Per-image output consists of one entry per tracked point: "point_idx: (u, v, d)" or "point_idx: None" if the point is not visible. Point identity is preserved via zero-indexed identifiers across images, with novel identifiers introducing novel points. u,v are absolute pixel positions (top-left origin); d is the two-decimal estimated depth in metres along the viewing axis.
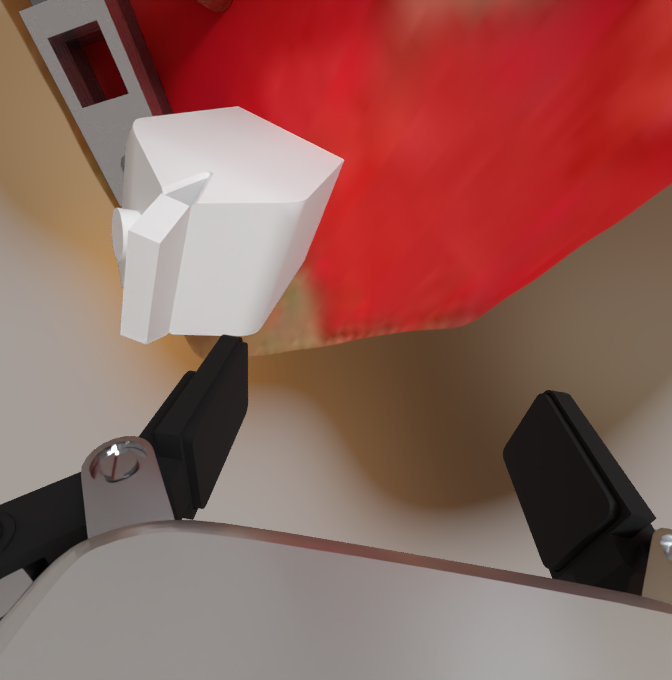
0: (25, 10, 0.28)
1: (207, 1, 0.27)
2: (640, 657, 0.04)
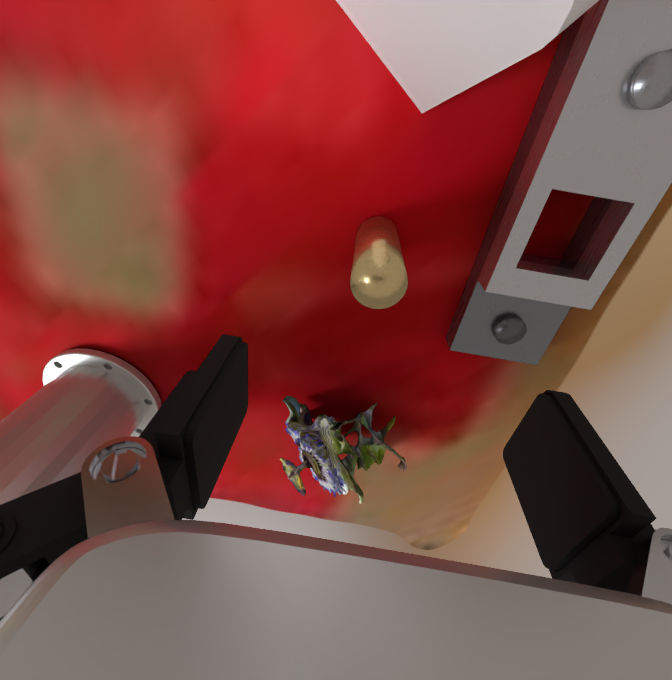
0: (582, 307, 0.24)
1: (382, 227, 0.23)
2: (640, 657, 0.04)
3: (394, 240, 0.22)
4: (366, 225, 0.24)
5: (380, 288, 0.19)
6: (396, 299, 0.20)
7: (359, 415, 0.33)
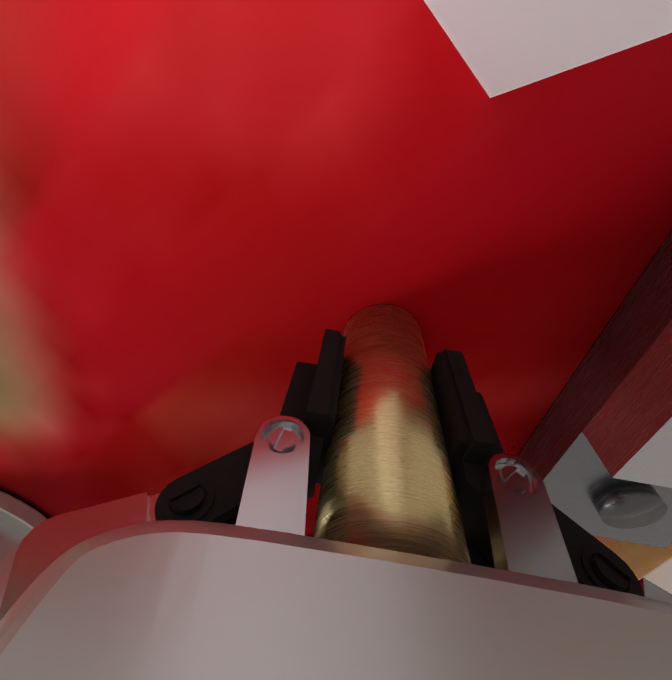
0: None
1: (395, 354, 0.10)
2: (640, 657, 0.04)
3: (425, 404, 0.09)
4: (360, 335, 0.12)
5: None
6: None
7: None
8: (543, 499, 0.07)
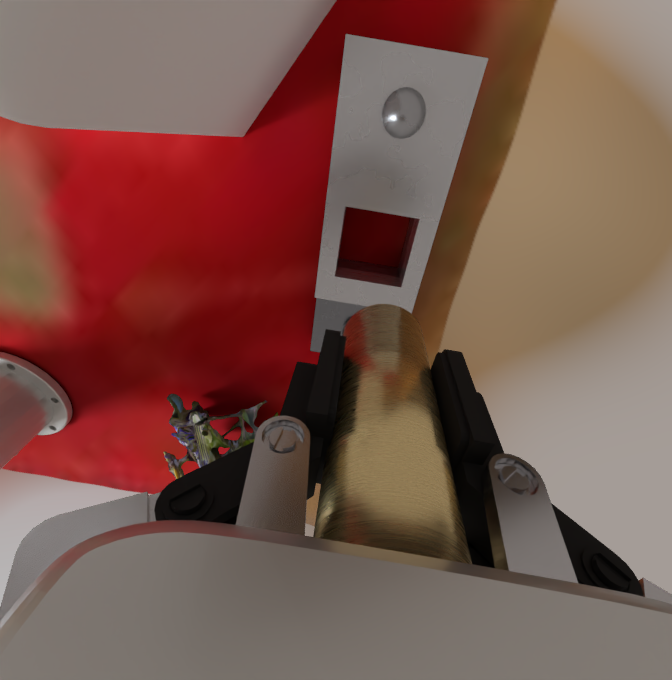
0: None
1: (395, 354, 0.10)
2: (640, 657, 0.04)
3: (425, 404, 0.09)
4: (360, 334, 0.12)
5: None
6: None
7: (239, 411, 0.35)
8: (543, 499, 0.07)
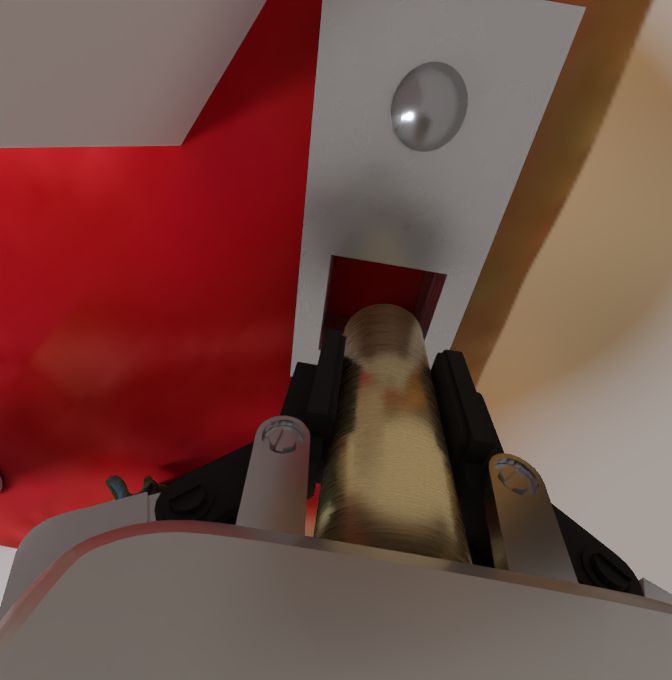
0: None
1: (395, 353, 0.10)
2: (640, 657, 0.04)
3: (425, 403, 0.09)
4: (361, 334, 0.12)
5: None
6: None
7: None
8: (543, 499, 0.07)
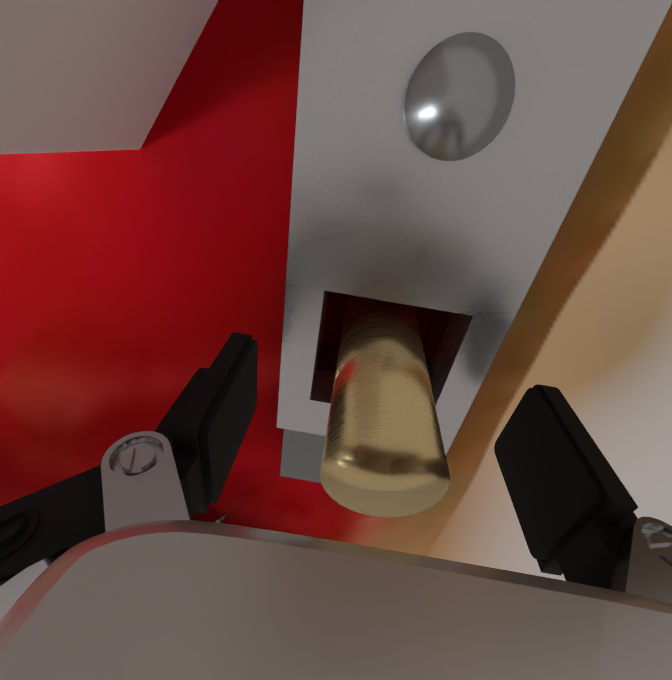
0: None
1: (390, 315, 0.12)
2: (640, 657, 0.04)
3: (414, 351, 0.11)
4: (361, 302, 0.14)
5: (387, 488, 0.09)
6: (422, 506, 0.09)
7: None
8: None
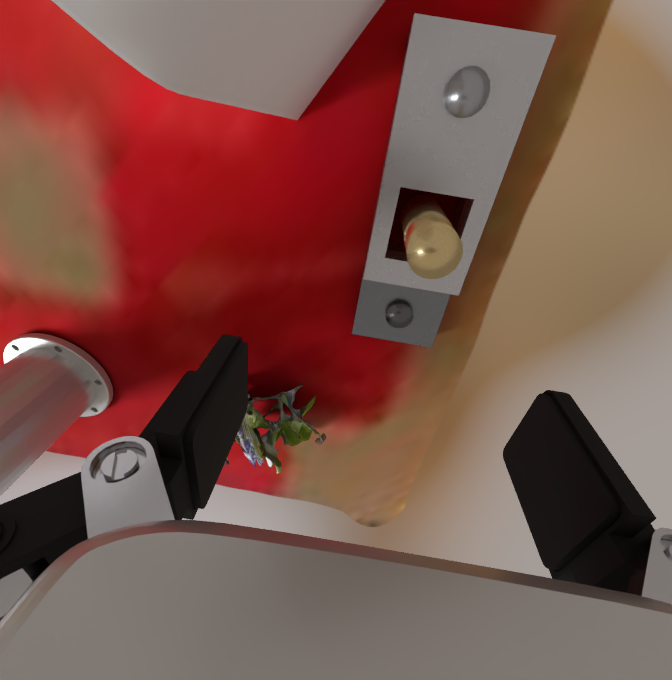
0: (450, 293, 0.27)
1: (431, 204, 0.24)
2: (640, 657, 0.04)
3: (444, 215, 0.23)
4: (413, 203, 0.25)
5: (435, 258, 0.20)
6: (450, 269, 0.21)
7: (279, 394, 0.36)
8: None
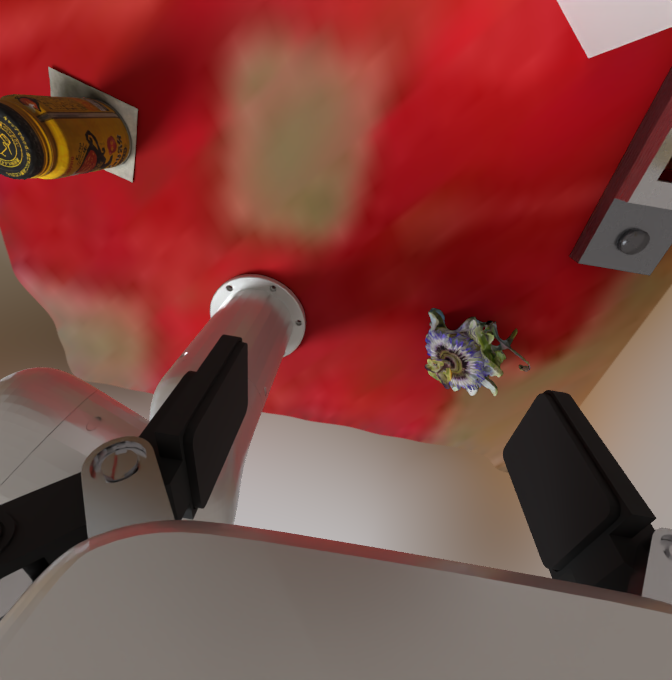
0: None
1: None
2: (640, 657, 0.04)
3: None
4: None
5: None
6: None
7: None
8: None
